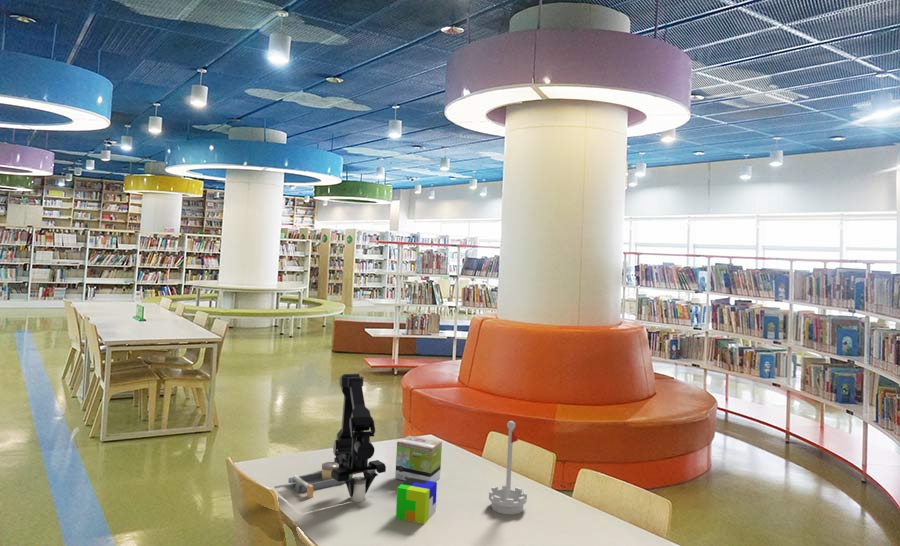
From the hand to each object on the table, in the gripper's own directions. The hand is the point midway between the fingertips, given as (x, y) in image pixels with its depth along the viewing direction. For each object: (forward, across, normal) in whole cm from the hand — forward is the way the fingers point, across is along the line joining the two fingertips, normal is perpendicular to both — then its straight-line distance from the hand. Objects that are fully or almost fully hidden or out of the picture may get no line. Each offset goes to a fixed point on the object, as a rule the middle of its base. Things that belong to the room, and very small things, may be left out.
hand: (357, 495), depth 201 cm
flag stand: (+2, -40, +33) cm, 52 cm away
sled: (+1, +18, -16) cm, 23 cm away
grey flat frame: (+2, +6, -19) cm, 20 cm away
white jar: (+2, 0, 0) cm, 2 cm away
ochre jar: (+1, +1, -19) cm, 19 cm away
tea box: (+2, -29, -5) cm, 29 cm away
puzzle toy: (+2, -10, +21) cm, 23 cm away
